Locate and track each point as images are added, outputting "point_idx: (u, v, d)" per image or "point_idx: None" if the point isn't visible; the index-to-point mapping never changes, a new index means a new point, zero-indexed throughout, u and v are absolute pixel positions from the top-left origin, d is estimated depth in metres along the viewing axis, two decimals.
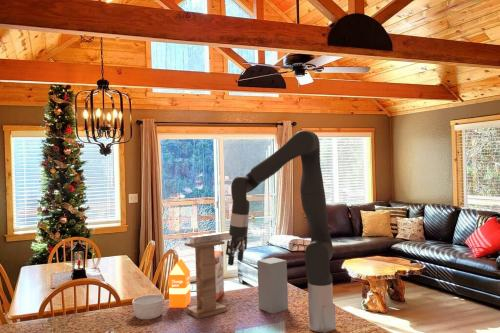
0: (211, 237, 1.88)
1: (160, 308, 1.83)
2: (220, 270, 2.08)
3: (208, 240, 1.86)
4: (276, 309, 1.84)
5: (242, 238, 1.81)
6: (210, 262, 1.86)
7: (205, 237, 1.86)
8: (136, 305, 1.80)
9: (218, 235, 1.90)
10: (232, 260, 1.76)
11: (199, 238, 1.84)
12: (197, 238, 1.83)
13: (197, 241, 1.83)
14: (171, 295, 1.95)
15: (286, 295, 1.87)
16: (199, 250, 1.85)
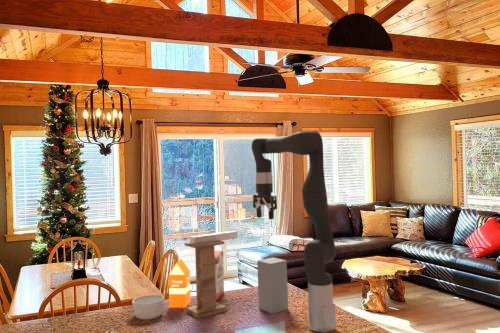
0: (211, 237, 1.88)
1: (160, 308, 1.83)
2: (220, 270, 2.08)
3: (208, 240, 1.86)
4: (276, 309, 1.84)
5: None
6: (210, 262, 1.86)
7: (205, 237, 1.86)
8: (136, 305, 1.80)
9: (218, 235, 1.90)
10: None
11: (199, 238, 1.84)
12: (197, 238, 1.83)
13: (197, 241, 1.83)
14: (171, 295, 1.95)
15: (286, 295, 1.87)
16: (199, 250, 1.85)
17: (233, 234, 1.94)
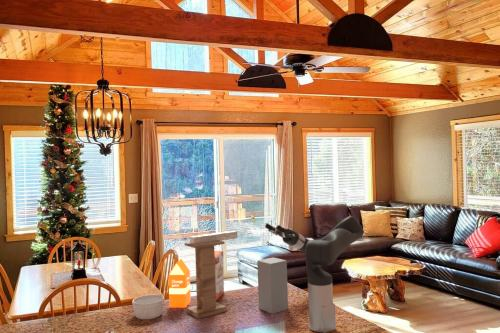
0: (211, 237, 1.88)
1: (160, 308, 1.83)
2: (220, 270, 2.08)
3: (208, 240, 1.86)
4: (276, 309, 1.84)
5: (281, 235, 2.16)
6: (210, 262, 1.86)
7: (205, 237, 1.86)
8: (136, 305, 1.80)
9: (218, 235, 1.90)
10: (280, 230, 2.06)
11: (199, 238, 1.84)
12: (197, 238, 1.83)
13: (197, 241, 1.83)
14: (171, 295, 1.95)
15: (286, 295, 1.87)
16: (199, 250, 1.85)
17: (233, 234, 1.94)
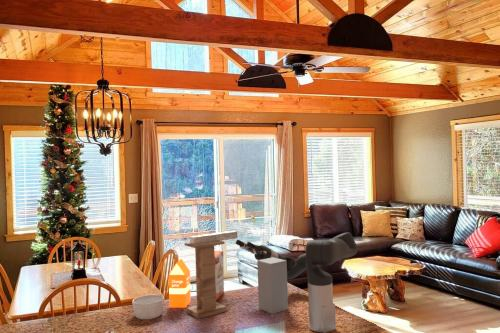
0: (211, 237, 1.88)
1: (160, 308, 1.83)
2: (220, 270, 2.08)
3: (208, 240, 1.86)
4: (276, 309, 1.84)
5: (253, 252, 2.06)
6: (210, 262, 1.86)
7: (205, 237, 1.86)
8: (136, 305, 1.80)
9: (218, 235, 1.90)
10: (250, 247, 1.96)
11: (199, 238, 1.84)
12: (197, 238, 1.83)
13: (197, 241, 1.83)
14: (171, 295, 1.95)
15: (286, 295, 1.87)
16: (199, 250, 1.85)
17: (233, 234, 1.94)
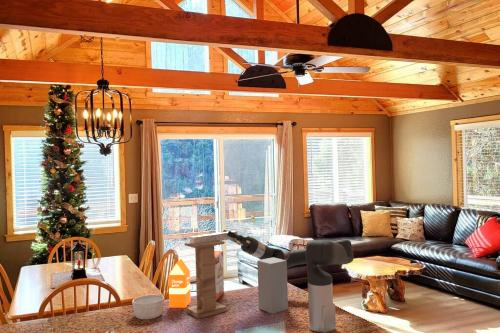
0: (211, 237, 1.88)
1: (160, 308, 1.83)
2: (220, 270, 2.08)
3: (208, 240, 1.86)
4: (276, 309, 1.84)
5: None
6: (210, 262, 1.86)
7: (205, 237, 1.86)
8: (136, 305, 1.80)
9: (218, 235, 1.90)
10: (231, 236, 1.93)
11: (199, 238, 1.84)
12: (197, 238, 1.83)
13: (197, 241, 1.83)
14: (171, 295, 1.95)
15: (286, 295, 1.87)
16: (199, 250, 1.85)
17: None
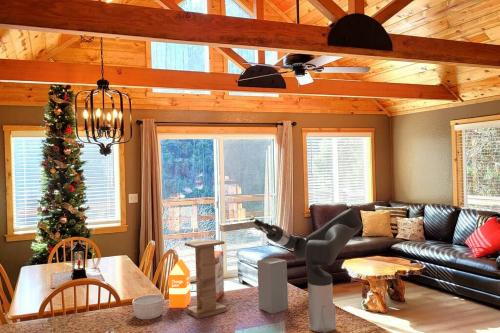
0: (240, 225, 1.96)
1: (160, 308, 1.83)
2: (220, 270, 2.08)
3: (237, 228, 1.95)
4: (276, 309, 1.84)
5: (265, 232, 2.09)
6: (210, 262, 1.86)
7: (234, 225, 1.94)
8: (136, 305, 1.80)
9: (246, 223, 1.98)
10: (258, 224, 2.01)
11: (228, 226, 1.92)
12: (226, 226, 1.91)
13: (226, 228, 1.91)
14: (171, 295, 1.95)
15: (286, 295, 1.87)
16: (199, 250, 1.85)
17: None
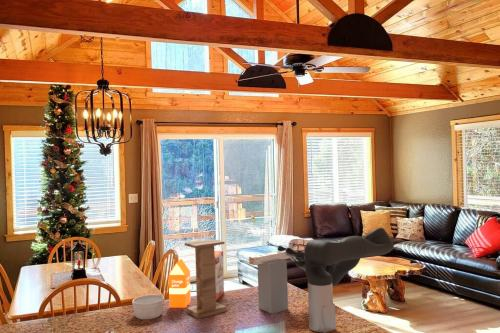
0: (270, 257, 1.86)
1: (160, 308, 1.83)
2: (220, 270, 2.08)
3: (267, 260, 1.85)
4: (276, 309, 1.84)
5: (294, 259, 1.99)
6: (210, 262, 1.86)
7: (264, 257, 1.84)
8: (136, 305, 1.80)
9: (276, 255, 1.88)
10: (289, 253, 1.90)
11: (259, 258, 1.82)
12: (257, 258, 1.82)
13: (256, 261, 1.82)
14: (171, 295, 1.95)
15: (286, 295, 1.87)
16: (199, 250, 1.85)
17: None
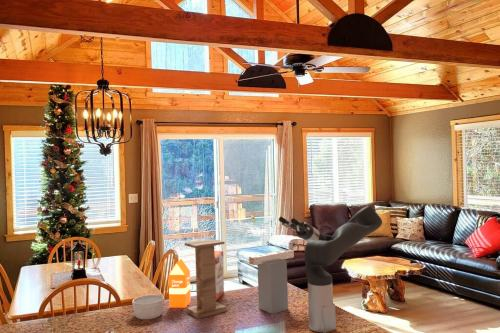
0: (270, 257, 1.86)
1: (160, 308, 1.83)
2: (220, 270, 2.08)
3: (267, 260, 1.85)
4: (276, 309, 1.84)
5: (295, 229, 2.09)
6: (210, 262, 1.86)
7: (264, 257, 1.84)
8: (136, 305, 1.80)
9: (276, 255, 1.88)
10: (294, 223, 2.00)
11: (259, 258, 1.82)
12: (257, 258, 1.82)
13: (256, 261, 1.82)
14: (171, 295, 1.95)
15: (286, 295, 1.87)
16: (199, 250, 1.85)
17: (290, 253, 1.92)
